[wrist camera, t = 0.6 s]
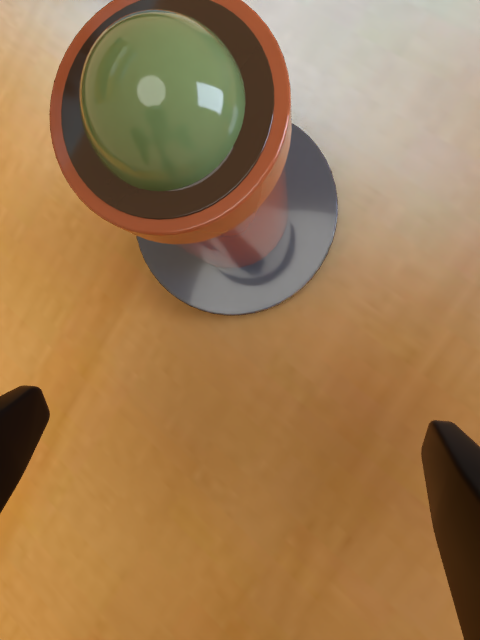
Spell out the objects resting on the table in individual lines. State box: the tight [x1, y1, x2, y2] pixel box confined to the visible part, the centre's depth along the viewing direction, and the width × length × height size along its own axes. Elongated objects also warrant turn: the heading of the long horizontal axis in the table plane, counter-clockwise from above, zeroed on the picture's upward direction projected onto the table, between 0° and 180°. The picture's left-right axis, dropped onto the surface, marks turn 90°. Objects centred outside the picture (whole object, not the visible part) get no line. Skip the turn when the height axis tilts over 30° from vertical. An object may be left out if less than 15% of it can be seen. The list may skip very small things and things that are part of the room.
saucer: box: [137, 123, 338, 315], centre depth 21 cm, size 11×11×1 cm
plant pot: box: [50, 0, 292, 268], centre depth 14 cm, size 7×7×12 cm
